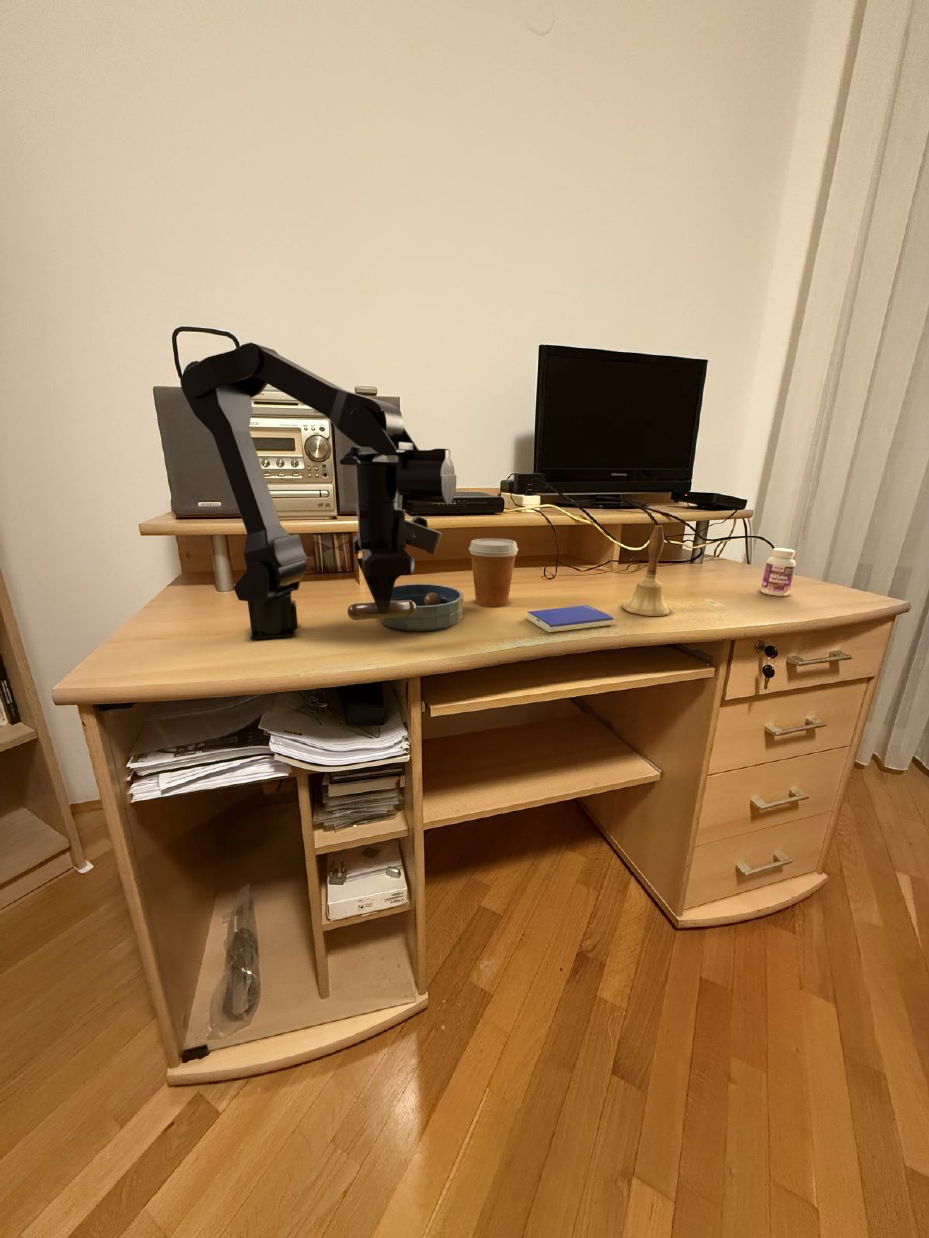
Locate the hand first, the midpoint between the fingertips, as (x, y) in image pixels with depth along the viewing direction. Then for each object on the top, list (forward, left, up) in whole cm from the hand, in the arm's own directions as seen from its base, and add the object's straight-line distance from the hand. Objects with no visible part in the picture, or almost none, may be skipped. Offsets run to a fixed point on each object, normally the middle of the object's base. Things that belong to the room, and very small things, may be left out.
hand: (382, 611), depth 71 cm
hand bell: (+51, +7, -6) cm, 52 cm away
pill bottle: (+87, +11, -6) cm, 88 cm away
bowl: (+8, +12, -6) cm, 16 cm away
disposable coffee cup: (+24, +19, -6) cm, 31 cm away
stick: (0, 0, -1) cm, 1 cm away
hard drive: (+33, +4, -6) cm, 34 cm away
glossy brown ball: (+11, +15, -5) cm, 19 cm away
